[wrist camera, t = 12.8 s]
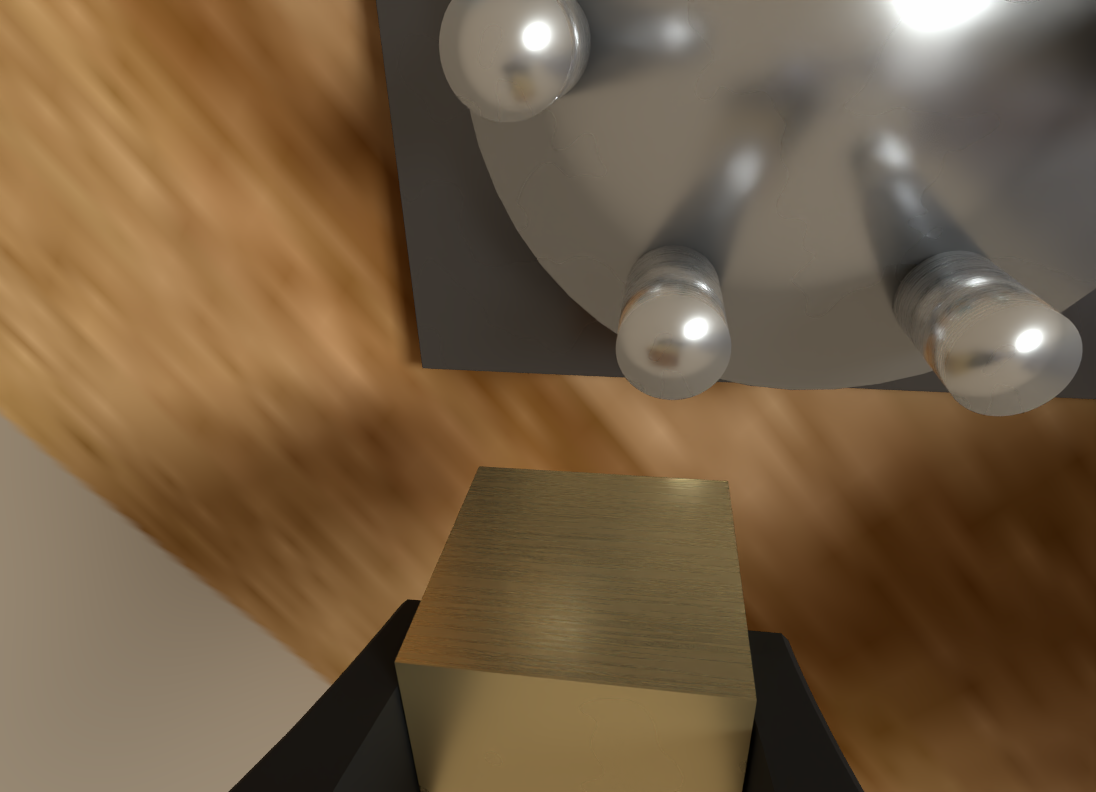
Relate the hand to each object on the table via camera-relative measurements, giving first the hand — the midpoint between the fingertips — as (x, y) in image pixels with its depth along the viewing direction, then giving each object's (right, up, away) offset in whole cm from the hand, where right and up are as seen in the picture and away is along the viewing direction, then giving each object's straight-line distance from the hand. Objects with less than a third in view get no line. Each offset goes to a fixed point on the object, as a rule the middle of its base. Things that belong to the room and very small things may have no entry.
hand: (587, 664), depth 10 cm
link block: (0, +1, +2) cm, 2 cm away
